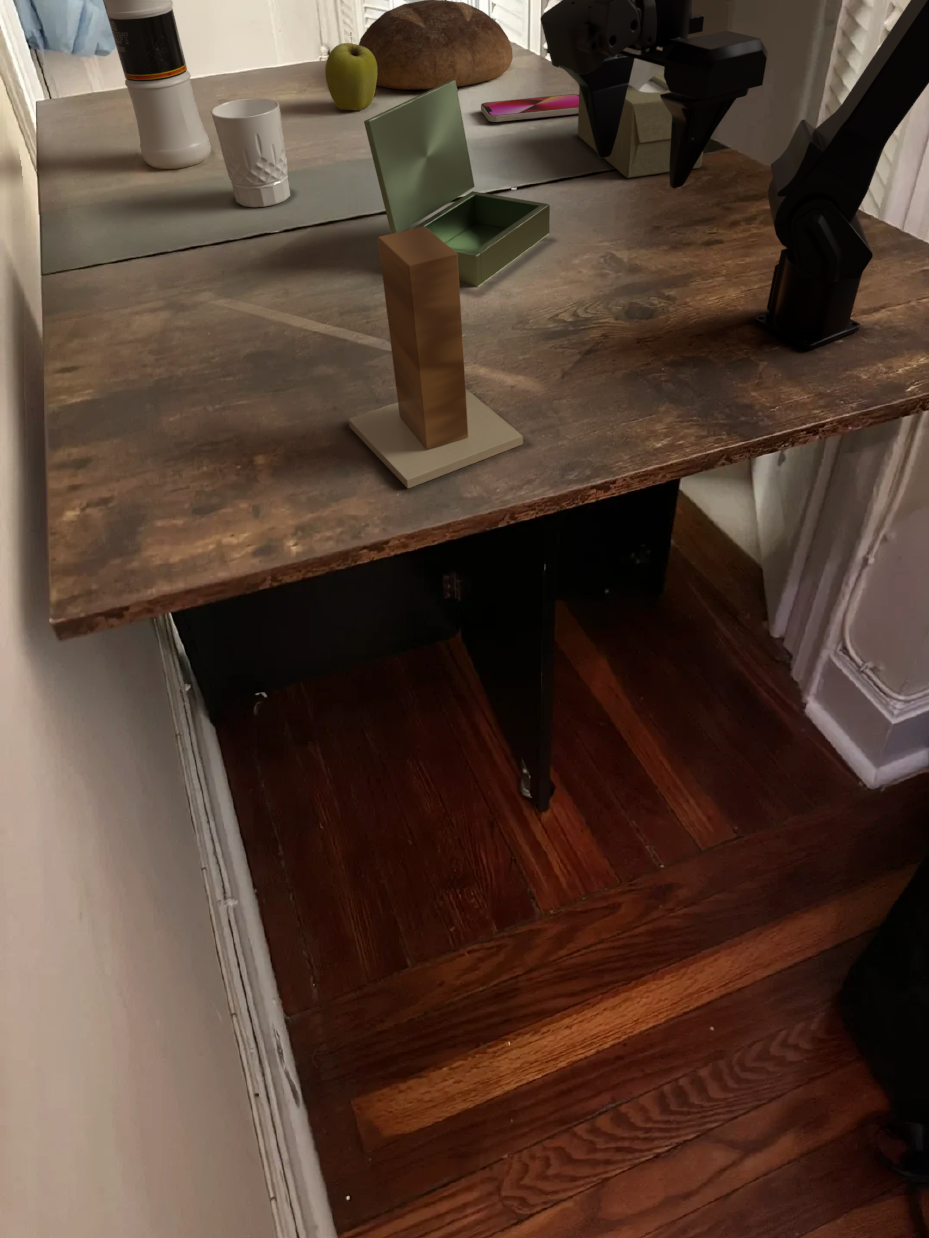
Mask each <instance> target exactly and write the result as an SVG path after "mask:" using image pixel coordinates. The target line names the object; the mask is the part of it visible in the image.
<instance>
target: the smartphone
mask: <svg viewBox="0 0 929 1238" xmlns="http://www.w3.org/2000/svg"><path fill="white" fill-rule="evenodd" d="M480 111H481V113H482V114H483V115H484V116H485V118H486V119H487V120H488V121H489V122H492V123H494V122H495V123H498V122H510V121H517V120H528V119H529V120H530V119H540V118H549V117H559V116H568V115H578V112H579V93H578V94H577V93H571V94H559V95H548V96H537V97H528V98H527V97H526V98H519V99H518V98H517V99H507V100H498V101H488V102H487V101H486V102H483V103H481V104H480Z"/></svg>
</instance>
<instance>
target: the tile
mask: <svg viewBox="0 0 929 1238" xmlns="http://www.w3.org/2000/svg"><path fill="white" fill-rule="evenodd" d="M465 389H466V406H467V422H468V438H465V439H462V440H459V441H455V442H452V443H449V444H446V445H442V446H439V447H436V448H433V449H429V450H426V448H425V447H424V446H423V445H422V443H421V442H420V441H419V440H418V438H417V437H416V436H415V435H414V433H413V432H412V431H411V430H410V428H409V427H408V426H407V425H406V423H405V422H404V421H403V420H402V419H401V417H400V415H399V407H398V401H396V402H394V403H391V404H388V405H385V406H381V407H379V408H376V409H373V410H371V411H368V412H365V413H362V414H358V415H356V416H353V417H350V418H348V424H349V428H350V429H351V430H352V431H353V432H354V434H355V435H356V436H357V437H358V438H359V439H360V440H361V441H362V442H363V443H364V444H365V445H366V447H368V448H369V450H370V451H372V452H373V454H374V455H375V456H376V457H377V458H378V459H379V460H380V461H381V462H382V463H383V464H384V466H385V467H386V468H388V469H389V471H391V473H392V474H393V475H394V476H395V477H396V478H397V479H398V480H399V481H400V482H401V483H402V484H403V485H404V487H406V489H412V488H414V487H417V486H418V485H421V484H424V483H426V482H429V481H432V480H435V479H437V478H439V477H442V476H445V475H447V474H450V473H452V472H455V471H457V470H461V469H463V468H465V467H468V466H470V465H473V464H475V463H478V462H481V461H483V460H486V459H489V458H492V457H494V456H496V455H498V454H499V455H500V454H502V453H504V452H507V451H509V450H513V449H515V448H517V447H519V446H522V445H523V444H524V436H523V434H521V432H519V431H518V430H516V429H515V427H513V426H512V425H511V424H509V423H508V422H507V421H506V420H504V418H502V417H501V416H499V415H498V414H497V413H496V412H495V411H494V410H492V409H491V408H490V407H489V406H488V405H487V404H485V403H484V402H483V401H482V400H480V399H479V397H477V396H475V395H474V394H473V393H472V392H471V391H470V390H468V389H467V388H466V387H465Z"/></svg>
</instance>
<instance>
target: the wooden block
mask: <svg viewBox="0 0 929 1238" xmlns="http://www.w3.org/2000/svg"><path fill="white" fill-rule="evenodd" d="M377 242H378V250H379V258H380V266H381V275H382V281H383V282H382V283H383V292H384V298H385V306H386V307H385V308H386V314H387V315H386V316H387V324H388V332H389V340H390V341H389V342H390V348H391V349H390V350H391V356H392V364H393V372H394V374H393V375H394V382H395V389H396V397H397V398H396V399H397V402H398V407H399V415H400V417H401V419H402V420H403V421H404V422H405V423H406V425H407V426H408V427H409V428H410V430H411V431H412V432H413V433H414V435H415V436H416V437H417V438H418V440H419V441H420V442H421V443H422V445H423V446H424V447H425V448H426V450H429V449H433V448H436V447H439V446H442V445H446V444H449V443H452V442H455V441H459V440H462V439H465V438H468V422H467V406H466V389H467V388H466V374H465V358H464V357H465V356H464V355H465V354H464V341H463V340H464V339H463V324H462V323H463V321H462V310H461V309H462V307H461V290H460V289H461V287H460V283H459V272H458V255H457V253H456V252H455V251H454V250H453V249H451V248H450V247H449V246H448V245H447V244H445V243H444V242H443V241H442V240H441V239H439V238H438V237H437V236H436V235H434V234H433V233H432V232H431V231H430V230H428V229H427V228H426V227H425V226H423V227H419V228H415V229H412V228H411V229H406V230H404V231H402V232H397V233H393V234H391V233H389V234H386V235H381V236H378V237H377ZM465 388H466V389H465Z"/></svg>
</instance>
